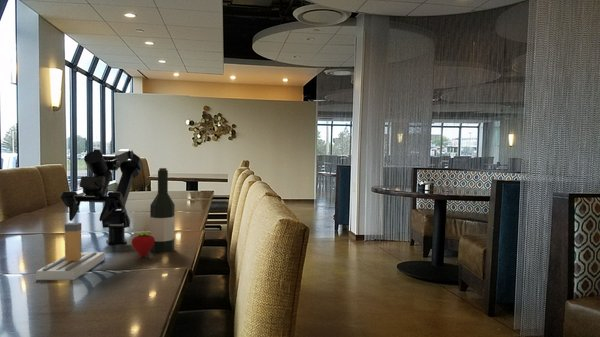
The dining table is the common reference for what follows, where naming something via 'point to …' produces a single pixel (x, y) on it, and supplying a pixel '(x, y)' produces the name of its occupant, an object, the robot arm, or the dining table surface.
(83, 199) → the robot arm
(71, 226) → the fader lever
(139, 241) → the strawberry
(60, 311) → the dining table surface
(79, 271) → the dimmer console
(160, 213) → the wine bottle
